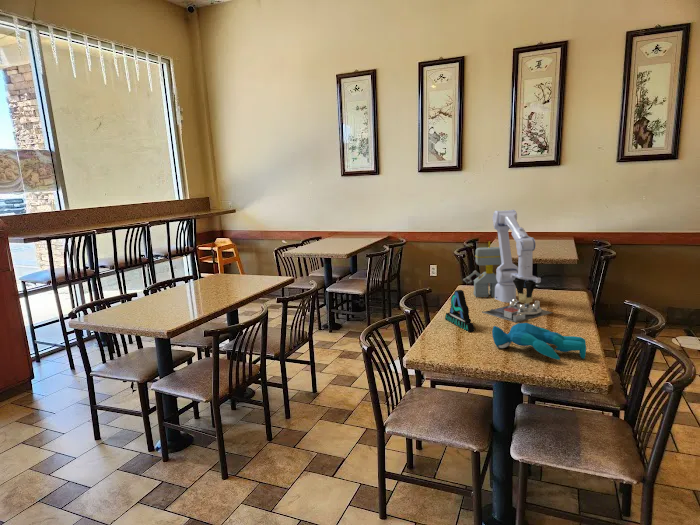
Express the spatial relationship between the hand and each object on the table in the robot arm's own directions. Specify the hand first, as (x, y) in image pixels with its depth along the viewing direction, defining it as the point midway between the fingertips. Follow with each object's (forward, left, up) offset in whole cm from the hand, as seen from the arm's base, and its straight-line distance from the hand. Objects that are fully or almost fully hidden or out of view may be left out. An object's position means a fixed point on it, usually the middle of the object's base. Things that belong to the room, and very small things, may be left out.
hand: (524, 296), depth 200 cm
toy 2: (+32, -32, -8) cm, 47 cm away
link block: (0, +1, -3) cm, 3 cm away
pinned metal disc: (0, 0, -8) cm, 8 cm away
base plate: (-1, -4, -8) cm, 9 cm away
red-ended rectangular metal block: (+4, -12, -7) cm, 15 cm away
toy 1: (-31, +10, -8) cm, 33 cm away
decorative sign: (-5, -34, -8) cm, 35 cm away
